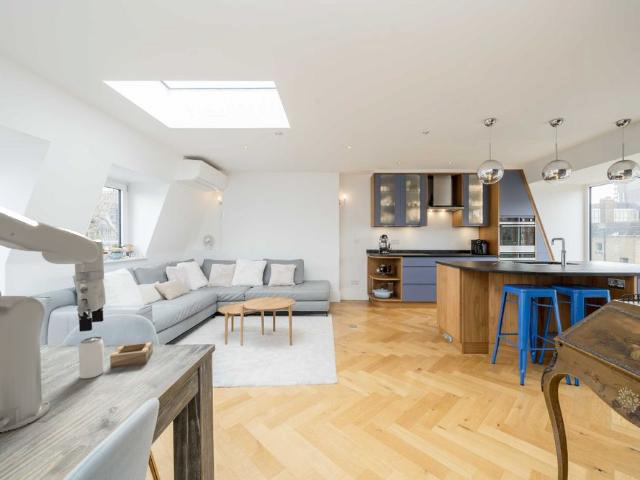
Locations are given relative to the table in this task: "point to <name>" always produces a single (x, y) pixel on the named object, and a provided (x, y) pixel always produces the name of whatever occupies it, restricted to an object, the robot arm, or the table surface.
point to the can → (91, 357)
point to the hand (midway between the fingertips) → (92, 326)
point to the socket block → (131, 355)
